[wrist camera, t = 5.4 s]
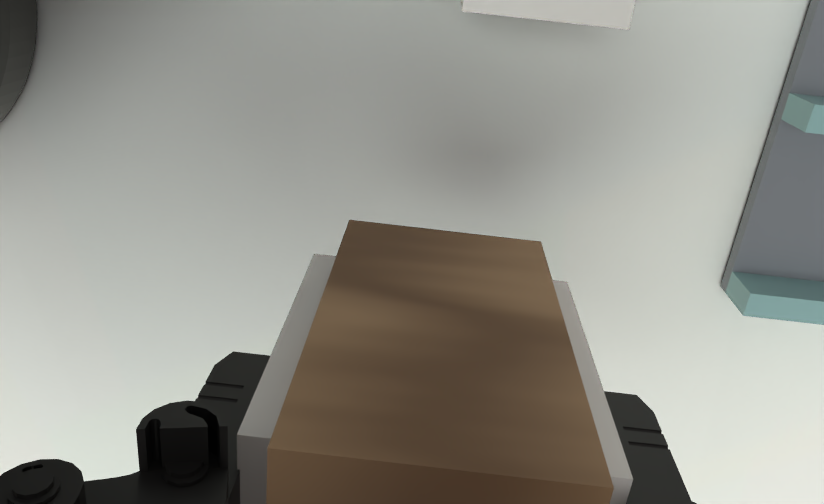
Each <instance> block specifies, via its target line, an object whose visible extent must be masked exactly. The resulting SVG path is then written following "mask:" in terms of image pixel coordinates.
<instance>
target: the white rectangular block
mask: <svg viewBox="0 0 824 504" xmlns="http://www.w3.org/2000/svg"><path fill="white" fill-rule="evenodd" d="M635 2H636V0H461V7H462V12H471V13H480V14H489V15H498V16H507V17H516V18H526V19H535V20H544V21H553V22H562V23H571V24H580V25H589V26H598V27H607V28H616V29H626V30H629V29H630V25H631V20H632V15H633V11H634V6H635Z"/></svg>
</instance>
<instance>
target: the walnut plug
mask: <svg viewBox="0 0 824 504" xmlns="http://www.w3.org/2000/svg"><path fill="white" fill-rule="evenodd" d="M613 490H614V486H613V483H612V480H611V476H610V473H609V470H608V466H607V463H606V459H605V456H604V453H603V449H602V446H601V443H600V439H599V436H598V433H597V429H596V426H595V422H594V419H593V416H592V412H591V409H590V406H589V402H588V399H587V395H586V392H585V389H584V385H583V382H582V379H581V375H580V372H579V369H578V365H577V362H576V358H575V355H574V352H573V348H572V345H571V342H570V338H569V335H568V332H567V328H566V325H565V321H564V318H563V315H562V311H561V308H560V305H559V301H558V298H557V294H556V291H555V288H554V284H553V281H552V278H551V274H550V271H549V268H548V264H547V261H546V257H545V254H544V251H543V247H542V244H541V242H539V241H530V240H521V239H512V238H504V237H495V236H486V235H477V234H469V233H460V232H451V231H443V230H434V229H425V228H416V227H408V226H399V225H390V224H381V223H373V222H364V221H355V220H349V223H348V225H347V228H346V231H345V234H344V236H343V239H342V242H341V245H340V248H339V250H338V253H337V256H336V259H335V261H334V264H333V267H332V270H331V273H330V275H329V278H328V281H327V284H326V286H325V289H324V292H323V295H322V298H321V300H320V303H319V306H318V309H317V311H316V314H315V317H314V320H313V323H312V325H311V328H310V331H309V334H308V337H307V339H306V342H305V345H304V348H303V350H302V353H301V356H300V359H299V362H298V364H297V367H296V370H295V373H294V375H293V378H292V381H291V384H290V387H289V389H288V392H287V395H286V398H285V400H284V403H283V406H282V409H281V412H280V414H279V417H278V420H277V423H276V425H275V428H274V431H273V434H272V437H271V439H270V442H269V445H268V448H267V491H266V504H610V500H611V497H612V493H613Z"/></svg>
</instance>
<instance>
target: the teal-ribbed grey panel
mask: <svg viewBox="0 0 824 504" xmlns="http://www.w3.org/2000/svg"><path fill="white" fill-rule="evenodd" d="M721 288H722V289H723V290H724V291H725V293H726V294H727V295H728V297H729V298H730V299H731V301H732V302H733V303H734V304H735V306H736V307H737V308H738V310H739V311H740V312H741V314H742V315H743V316H751V317H760V318H769V319H778V320H787V321H796V322H804V323H813V324H822V325H824V0H811V2H810V5H809V9H808V12H807V15H806V18H805V21H804V24H803V27H802V31H801V34H800V37H799V40H798V43H797V46H796V49H795V53H794V56H793V59H792V62H791V65H790V68H789V72H788V75H787V78H786V81H785V84H784V87H783V90H782V94H781V97H780V100H779V103H778V106H777V109H776V112H775V116H774V119H773V122H772V125H771V128H770V131H769V135H768V138H767V141H766V144H765V147H764V150H763V153H762V157H761V160H760V163H759V166H758V169H757V172H756V175H755V179H754V182H753V185H752V188H751V191H750V194H749V198H748V201H747V204H746V207H745V210H744V213H743V216H742V220H741V223H740V226H739V229H738V232H737V235H736V239H735V242H734V245H733V248H732V251H731V254H730V257H729V261H728V264H727V267H726V270H725V273H724V276H723V279H722V283H721Z"/></svg>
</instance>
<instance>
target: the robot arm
mask: <svg viewBox="0 0 824 504" xmlns="http://www.w3.org/2000/svg"><path fill="white" fill-rule="evenodd" d="M36 29H37V8H36V0H0V122H1V121H2V120H3V119H4V117H5V116H6V115H7V114H8V112H9V111H10V110H11V108H12V107H13V105H14V104H15V102H16V101H17V99H18V97H19V95H20V93H21V91H22V89H23V87H24V84H25V82H26V79H27V77H28V73H29V70H30V67H31V63H32V59H33V54H34V49H35V41H36ZM335 259H336V256H330V255H321V254H314V255H313V258H312V260H311V262H310V265H309V267H308V269H307V272H306V274H305V276H304V279H303V281H302V283H301V286H300V288H299V290H298V293H297V295H296V297H295V300H294V302H293V304H292V307H291V309H290V311H289V314H288V316H287V318H286V321H285V323H284V325H283V328H282V330H281V333H280V335H279V337H278V340H277V342H276V344H275V347H274V349H273V351H272V354H271V356H267V355H259V354H250V353H241V352H232V353H231V354H229V355H228V356H226V357H225V358H224V359H222V360H221V361H220V362H218V363H217V364H216V365H215V366H214V368H213V369H212V371H211V373H210V375H209V377H208V378H207V380H206V384H205V385H204V386H203V388H202V389H201V391H200V393H199V395H198V398H197V399H196V400H195V401H182V402H175V403H169V404H167V405H164V406H162V407H159V408H157V409H154V410H153V411H152V412H150V413H149V414H148V415H146V416H145V417H144V418H143V419H142V420H141V422H140V424H139V425H138V427H137V429H136V433H137V445H138V457H139V469H140V471H138V472H136V473H133V474H130V475H126V476H121V477H116V478H109V479H101V480H93V481H85V482H84V481H83V476H82V472H81V471H80V470H79V469H78V468H77V467H76V466H75V465H74V464H73V463H69V462H66V461H62V460H59V459H40V460H36V461H32V462H28V463H24V464H21V465H19V466H17V467H15V468H13V469H11V470H9V471H7V472H5V473H3V474H2V475H1V476H0V504H266V491H267V448H268V445H269V442H270V439H271V437H272V434H273V431H274V428H275V425H276V423H277V420H278V417H279V414H280V412H281V409H282V406H283V403H284V400H285V398H286V395H287V392H288V389H289V387H290V384H291V381H292V378H293V375H294V373H295V370H296V367H297V364H298V362H299V359H300V356H301V353H302V350H303V348H304V345H305V342H306V339H307V337H308V334H309V331H310V328H311V325H312V323H313V320H314V317H315V314H316V311H317V309H318V306H319V303H320V300H321V298H322V295H323V292H324V289H325V286H326V284H327V281H328V278H329V275H330V273H331V270H332V267H333V264H334V261H335ZM552 281H553V284H554V288H555V291H556V294H557V298H558V301H559V305H560V308H561V311H562V315H563V318H564V321H565V325H566V328H567V332H568V335H569V338H570V342H571V345H572V348H573V352H574V355H575V358H576V362H577V365H578V369H579V372H580V375H581V379H582V382H583V385H584V389H585V392H586V395H587V399H588V402H589V406H590V409H591V412H592V416H593V419H594V422H595V426H596V429H597V433H598V436H599V439H600V443H601V446H602V449H603V453H604V456H605V459H606V463H607V466H608V470H609V473H610V476H611V480H612V483H613V486H614V490H613V493H612V497H611V500H610V504H696V503H695V502H692V501H691V499H690V497H689V494H688V492H687V490H686V487H685V485H684V483H683V480H682V478H681V475H680V473H679V471H678V468H677V466H676V464H675V461H674V459H673V457H672V454H671V452H670V450H669V449H668V445H667V442H666V440H665V438H664V435H663V434H661V428H660V426H659V424H658V421H657V419H656V417H655V414H654V412H653V411H652V410H651V409H650V408H649V407H648V406H647V405H646V404H645V403H644V402H643V401H642V400H641V399H640V398H639V397H638V396H637V395H632V394H623V393H614V392H605V391H604V390H603V387H602V384H601V381H600V378H599V375H598V372H597V369H596V366H595V363H594V360H593V357H592V354H591V351H590V348H589V345H588V342H587V339H586V337H585V334H584V331H583V328H582V325H581V322H580V319H579V316H578V313H577V310H576V307H575V304H574V301H573V298H572V295H571V292H570V289H569V286H568V283H567V282H564V281H555V280H552Z"/></svg>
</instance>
